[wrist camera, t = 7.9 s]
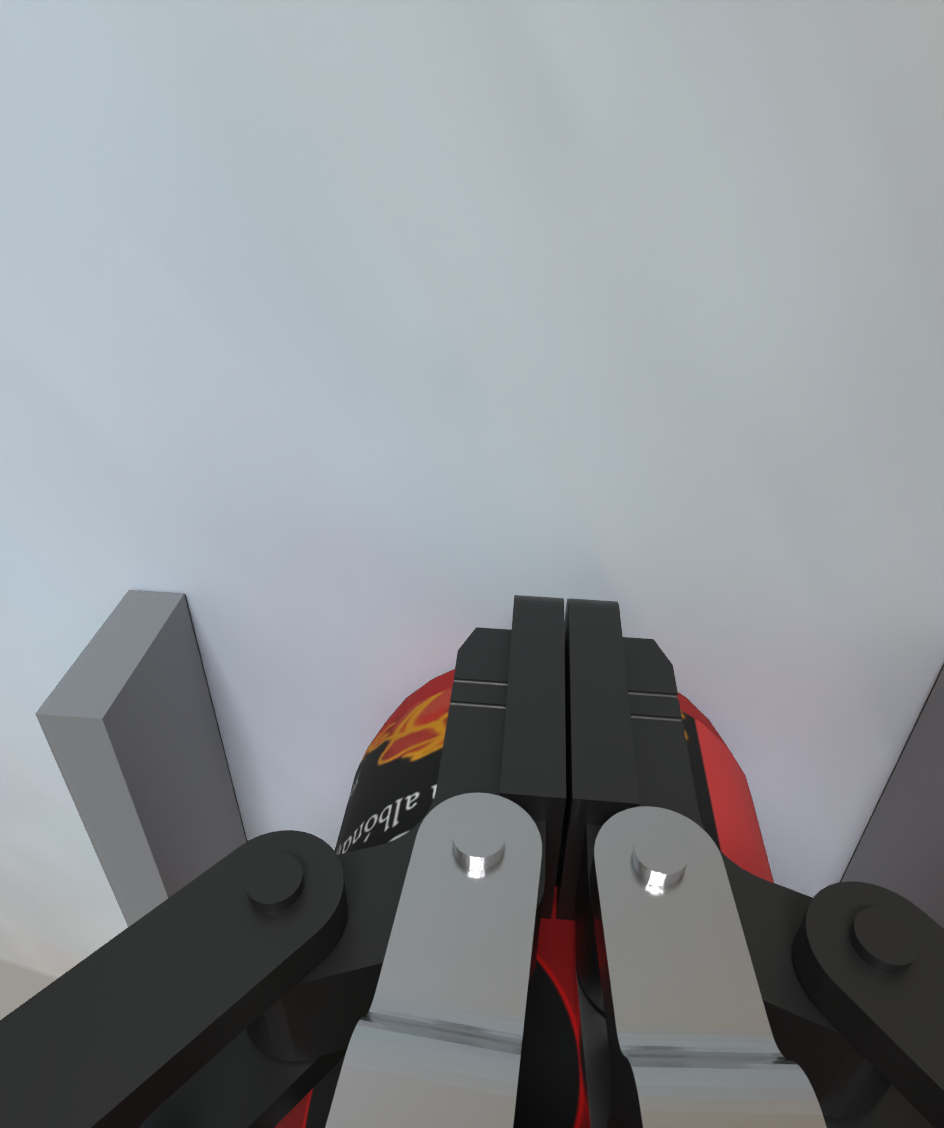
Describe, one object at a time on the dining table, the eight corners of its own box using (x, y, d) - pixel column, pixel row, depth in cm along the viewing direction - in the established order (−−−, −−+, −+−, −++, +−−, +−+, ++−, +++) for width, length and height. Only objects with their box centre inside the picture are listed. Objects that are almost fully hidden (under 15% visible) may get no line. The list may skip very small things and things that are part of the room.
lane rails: (1019, 646, 13) (1130, 797, 10) (844, 968, 18) (888, 1113, 16) (129, 590, 14) (36, 713, 11) (225, 911, 19) (177, 1040, 17)
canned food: (699, 592, 13) (1055, 2005, 4) (775, 878, 17) (1032, 1878, 8) (289, 687, 15) (-132, 1735, 6) (445, 920, 19) (344, 1748, 10)
